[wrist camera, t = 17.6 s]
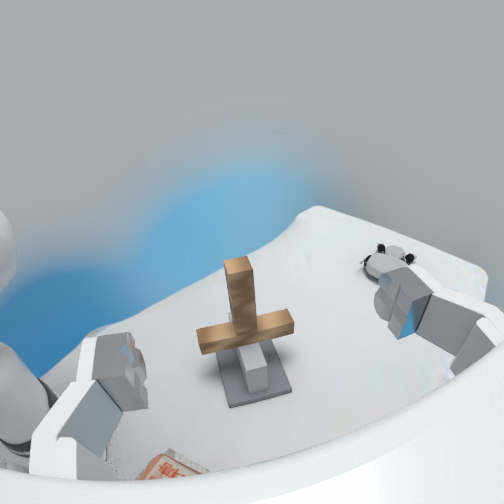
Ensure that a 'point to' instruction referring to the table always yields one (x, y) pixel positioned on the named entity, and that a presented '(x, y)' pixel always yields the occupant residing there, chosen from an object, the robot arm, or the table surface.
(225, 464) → the table surface
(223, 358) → the ridge stand
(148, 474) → the packaged product
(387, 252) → the robot toy
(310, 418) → the table surface
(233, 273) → the wooden t-shaped block
